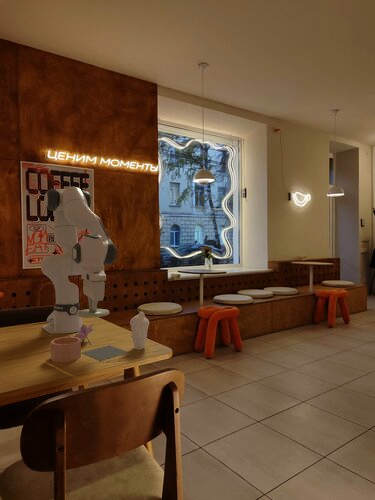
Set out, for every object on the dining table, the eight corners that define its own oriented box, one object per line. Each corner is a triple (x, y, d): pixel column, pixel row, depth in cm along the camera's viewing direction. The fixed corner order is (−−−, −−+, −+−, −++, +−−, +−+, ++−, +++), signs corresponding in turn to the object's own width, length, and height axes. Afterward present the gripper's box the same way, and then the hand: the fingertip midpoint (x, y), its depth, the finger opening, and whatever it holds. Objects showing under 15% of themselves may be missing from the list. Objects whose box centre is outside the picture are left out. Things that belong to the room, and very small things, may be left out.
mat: (80, 353, 146) (80, 352, 146) (109, 346, 156) (109, 345, 156) (100, 361, 136) (100, 360, 136) (129, 353, 146) (129, 352, 146)
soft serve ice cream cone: (130, 352, 148) (130, 313, 147) (128, 346, 156) (128, 310, 155) (150, 350, 150) (150, 312, 150) (147, 344, 158) (147, 309, 158)
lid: (69, 314, 143) (69, 302, 143) (97, 309, 153) (97, 298, 153) (88, 319, 135) (88, 306, 134) (116, 313, 144) (116, 302, 144)
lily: (98, 342, 166) (89, 323, 167) (105, 337, 156) (95, 318, 158) (74, 354, 159) (65, 335, 160) (79, 351, 150) (69, 330, 151)
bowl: (45, 358, 139) (45, 340, 139) (71, 352, 148) (71, 335, 147) (59, 365, 132) (59, 346, 132) (86, 358, 140) (86, 340, 140)
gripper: (79, 272, 151) (79, 304, 151) (90, 277, 133) (90, 314, 133) (94, 271, 154) (94, 303, 154) (107, 276, 136) (107, 312, 136)
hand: (92, 308), depth 144 cm, fingers closed on lid, 3 cm apart
